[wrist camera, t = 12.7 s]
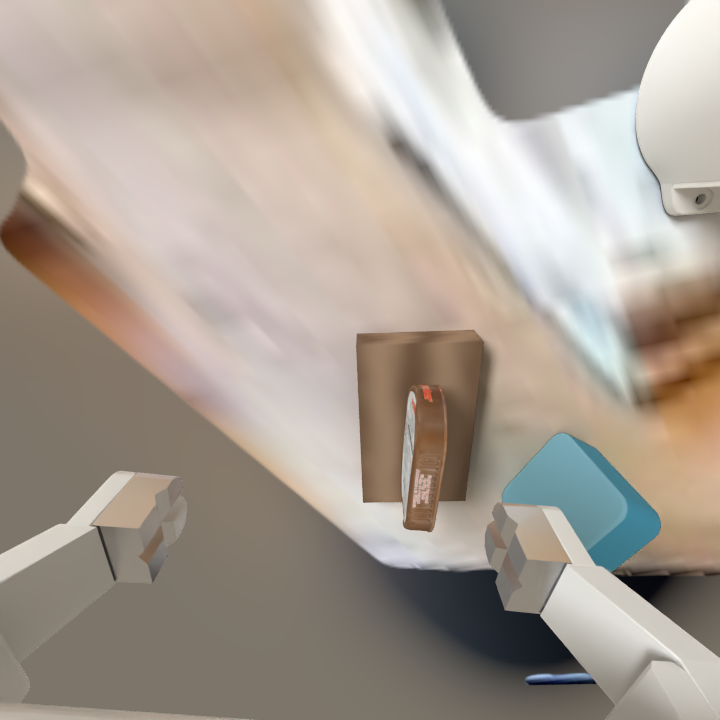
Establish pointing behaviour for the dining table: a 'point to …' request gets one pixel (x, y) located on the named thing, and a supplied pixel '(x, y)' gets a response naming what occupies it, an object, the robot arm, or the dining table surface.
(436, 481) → the tin
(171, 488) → the robot arm
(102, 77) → the dining table surface
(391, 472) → the walnut block
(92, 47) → the dining table surface
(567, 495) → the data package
